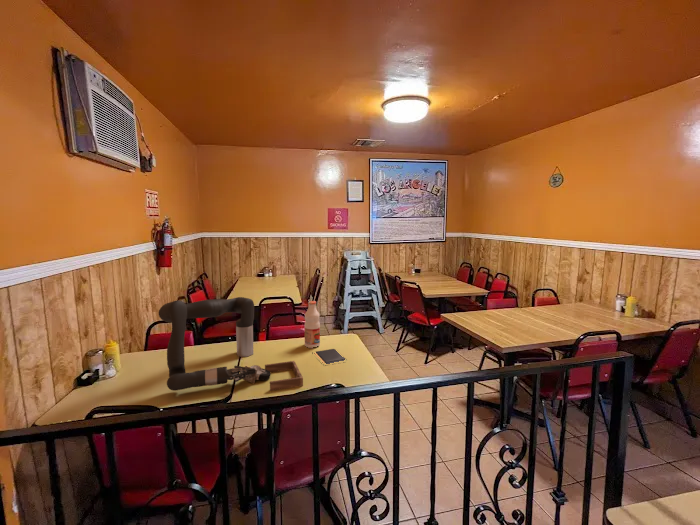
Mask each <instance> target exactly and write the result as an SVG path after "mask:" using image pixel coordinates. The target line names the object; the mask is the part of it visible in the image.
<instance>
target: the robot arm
mask: <svg viewBox="0 0 700 525" xmlns="http://www.w3.org/2000/svg"><path fill="white" fill-rule="evenodd" d="M225 313H236V314H240V318H239V319H237V320H236V321H235V331H236V332H235V335H236V336H235V337H236V340H235V341H236V356H238V357H242V358H245V357H250V356H252V355H254V325H253V324H254V319H255V303H254V300H253V298H248V297H243V296H239V297H234V298H233V297H232V298H229V299H227V298H226V299H225V298H223V299H222V298H220V299H219V298H218V299H217V298H216V299H215V298H213V299H202V300H197V301H193V302H189V303H185V301H184V302H183V300H179V299H178V300H173V301H170V302H167V303H164V304H163V305H161V307H160V308H159V310H158V317H159V318H160V320H162V321H164V322H166V323H171V334H170V337H169V341H168V344H167V349H166V363H167V368H168V378H167V380H166V387H167V388H168V389H169V390H171V391H180V390H185V389H190V388H200V387H207V386H216V385H217V386H218V385H223V384H224V385H225V384H228V381H233V380H234V382H235V383H236V382H239V381H241V380H243V378H245V377H246V376H247V375H249V374H255V368H251V369H246V368H245V366H239V365H234V367H232V368H228V367H227V366H219V367H212V368H208V369H201V370H195V371H192V372H190V371H189V372H186V366H185V336H186V324H187V319H208V318H217V317H220V316H222V315H224V314H225Z"/></svg>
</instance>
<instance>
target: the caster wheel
mask: <svg viewBox="0 0 700 525" xmlns="http://www.w3.org/2000/svg"><path fill="white" fill-rule="evenodd" d="M244 367H245V368H246V369H251V368H255V374H249V375H247V376H246V377H245V378H243V379H242V380H243V381H246V382H248V383H251V384H255V382H256V380H257V381H268V380H269V379H270V378H271V375H272V372H270V371H268V370H266V369H265V368H262V367H261V366H259V365H257V364H256V365H254V364H253V365H252V366H251V365H250V366H246V365H245V366H244Z"/></svg>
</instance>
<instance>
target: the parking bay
mask: <svg viewBox="0 0 700 525" xmlns="http://www.w3.org/2000/svg"><path fill="white" fill-rule="evenodd" d="M264 369H266V370H268V371H270V372H271V373H275V372H283V371H289V370H292V371H293V373H294V376H295V377H293V378H283V379H278V380H272V381H269V391H271V392H272V391H279V390H284V389H285V390H286V389H292V388H297V387H304V377H303V376H302V373H301V371H300V369H299V367H298V365H297V363H296V361H295V360H290V361H284V362H274V363H270V364H264Z"/></svg>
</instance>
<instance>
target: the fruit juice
mask: <svg viewBox="0 0 700 525" xmlns="http://www.w3.org/2000/svg"><path fill="white" fill-rule="evenodd" d="M307 302H308V303H307V304H308V308H307V310H306V312H305V314H304V320H305V322H304V347H305V346H306V347H305V348H307V347H308V348H307V349H314V348H313V347H317V346H319V347H320V346H321V332H320V331H321V323H320V316H321V315H320V312H319V311H318V310H317V306H316V305H317V301H316V300H309V301H307ZM317 348H318V347H317Z"/></svg>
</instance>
